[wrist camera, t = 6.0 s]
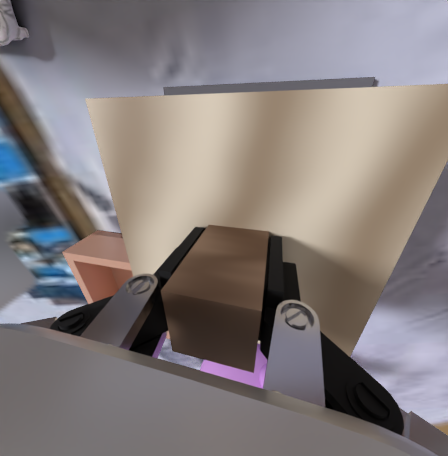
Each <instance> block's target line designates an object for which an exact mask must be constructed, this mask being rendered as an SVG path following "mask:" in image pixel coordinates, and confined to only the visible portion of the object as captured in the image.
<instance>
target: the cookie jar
mask: <svg viewBox="0 0 448 456" xmlns="http://www.w3.org/2000/svg"><path fill="white" fill-rule="evenodd" d="M23 38H29V34H28V30H27V29H26V28H22V27H19V26H18V23H17V21H16V18H15V15H14V12H13V9H12V5H11V1H10V0H0V46H5V45H8V44H9V43H10V42H11V41H12V40H22V39H23Z"/></svg>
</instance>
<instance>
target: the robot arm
mask: <svg viewBox="0 0 448 456" xmlns="http://www.w3.org/2000/svg"><path fill="white" fill-rule="evenodd" d="M205 229H206V228H202V227H195V228H194V229H193V230H192V231H191V232H190V234H189V235H188V236H187V237H186V238H185V239H184V241H183V242H182V243H181V244H180V245H179V246H178V247H177V248H176V249H175V250H174V251H173V252H172V253H171V254H170V256H169V257H168V258H167V259H166V260H165V261H164V263H163V264H162V265H161V266H160V267H159V268H158V269H157V271H156V272H155V273H154V274H153V275H152V274H139V275H136V276H133V277H131V278H130V279H128V280H127V281H126V282H125V283H124V284H123V285H122V286H121V288H120V289H119V290H118V291H117V292H116V294H115V295H113V296H110V297H107V298H104V299H102V300H99V301H96V302H93V303H90V304H87V305H84V306H82V307H79V308H76V309H73V310H71V311H69V312H67V313H65V314H63V315H62V316H60V317H59V318H58V319H57V317H53V318H47V319H42V320H37V321H32V322H27V323H21V324H0V456H448V436H447V435H446V434H444V433H443V432H442V431H440V430H439V429H437V428H436V427H434V426H433V425H431V424H430V423H428V422H427V421H425V420H424V419H422V418H421V417H419V416H418V415H416V414H415V413H413V412H412V411H411V412H410V413H409V414H408V413H406V412H405V411H403V410H402V409H401V408H399V406H398V405H397V403H396V402H395V400H394V399H393V397H392V396H391V394H390V393H389V392H388V391H387V390H386V389H385V388H384V387H383V386H382V385H381V384H380V383H378V382H377V381H376V380H375V379H374V378H373V377H372V376H371V375H369V374H368V373H367V372H366V371H365V370H364V369H363V368H362V367H360V366H359V365H358V364H357V363H356V362H355V361H354V360H353V359H351V358H350V357H349V356H348V355H347V354H346V353H345V352H344V351H342V350H341V349H340V348H339V347H338V346H337V345H336V344H335V343H333V342H332V341H331V340H330V339H329V338H328V337H327V336H326V335H324V334H323V333H322V332H321V331H320V324H319V319H318V316H317V314H316V313H315V311H314V310H313V309H312V308H311V307H310V306H308V305H307V304H305V303H303V302H301V299H300V291H299V284H298V276H297V268H296V264H295V263H289V262H283V252H282V237H280V236H271V238H268V247H267V258H266V269H265V280H264V291H263V302H262V313H261V320H260V328H259V336H258V341H260V351H261V352H262V354H263V355H264V356H265V358H266V359H267V366H266V372H265V378H264V384H263V389H262V388H259V387H255V386H252V385H248V384H245V383H241V382H238V381H234V380H231V379H228V378H224V377H221V376H217V375H214V374H210V373H207V372H203V371H200V370H196V369H193V368H189V367H186V366H182V365H179V364H175V363H172V362H168V361H165V360H161V359H158V355H159V353H160V351H161V348H162V346H163V343H164V341H165V339H166V336H167V332H168V331H169V330H168V325H167V320H166V315H165V310H164V305H163V300H162V295H161V290H162V288H163V287H164V286H165V284H166V283H167V281H168V280H169V279H170V277H171V276H172V275H173V273H174V272H175V270H176V269H177V268H178V266H179V265H180V264H181V262H182V261H183V260H184V258H185V257H186V255H187V254H188V253H189V251H190V250H191V249H192V247H193V246H194V244H195V243H196V242H197V240H198V239H199V238H200V236H201V235H202V233H203V232H204V231H205Z"/></svg>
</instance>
